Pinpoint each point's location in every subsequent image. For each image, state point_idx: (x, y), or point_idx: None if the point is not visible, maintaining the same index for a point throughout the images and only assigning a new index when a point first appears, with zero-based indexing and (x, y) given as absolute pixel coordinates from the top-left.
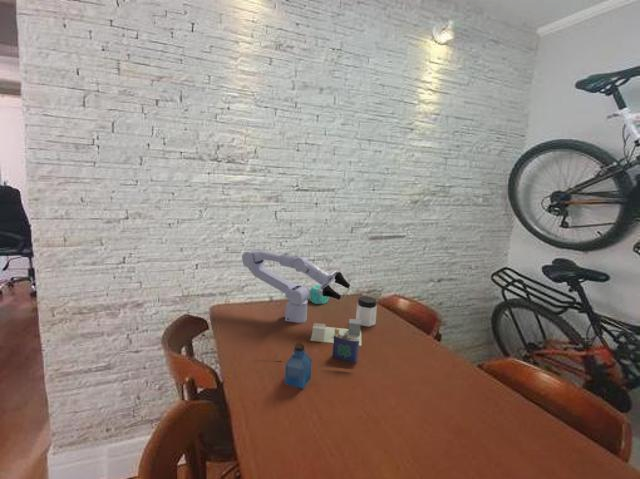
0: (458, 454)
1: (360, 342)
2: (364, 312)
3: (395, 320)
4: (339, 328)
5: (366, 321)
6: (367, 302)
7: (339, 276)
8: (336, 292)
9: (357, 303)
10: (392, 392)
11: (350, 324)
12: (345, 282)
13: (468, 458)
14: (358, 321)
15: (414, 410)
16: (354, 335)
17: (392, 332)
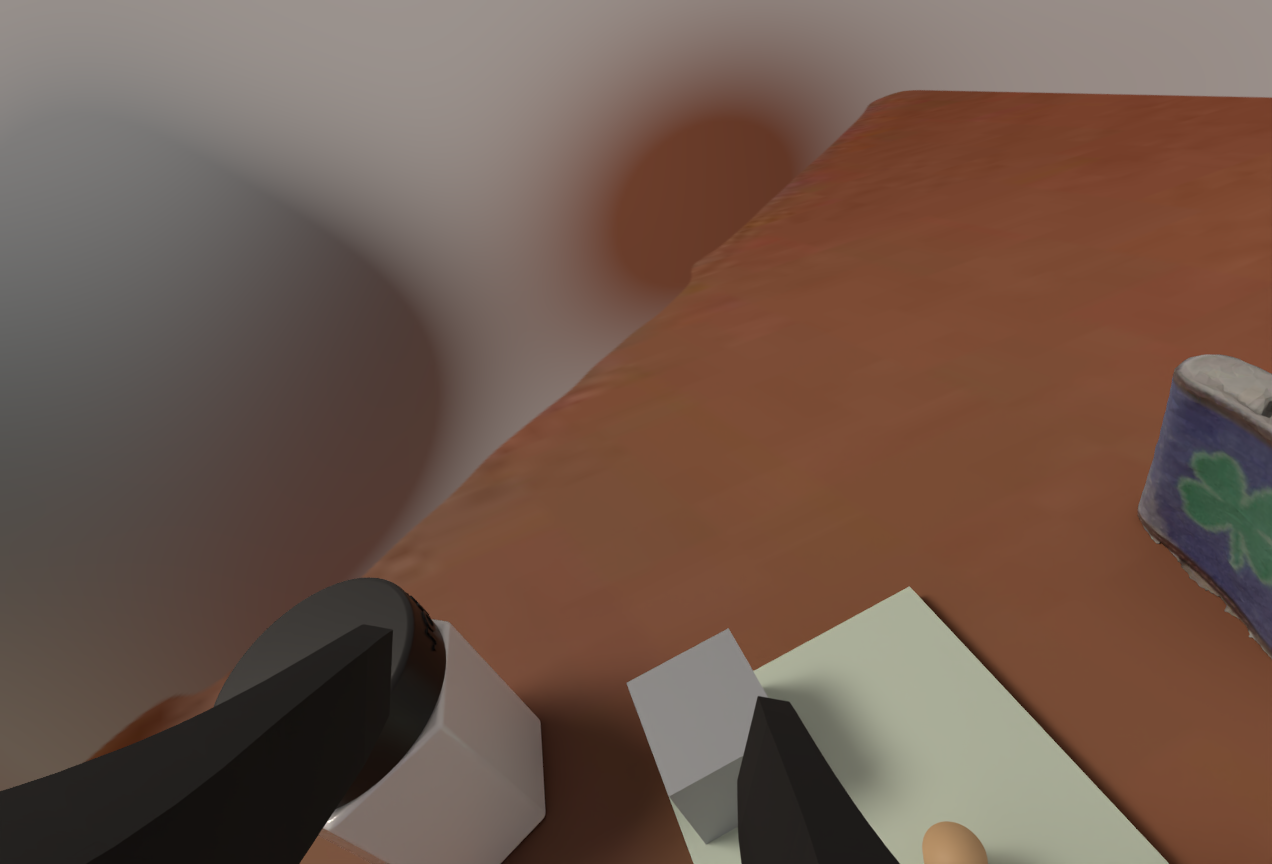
0: (1227, 124)
1: (865, 619)
2: (473, 704)
3: None
4: None
5: (516, 720)
6: (414, 619)
7: (112, 842)
8: (792, 778)
9: (335, 819)
10: (1170, 295)
11: None
12: (321, 692)
13: (1209, 117)
14: (681, 675)
15: (1179, 223)
16: None
17: (530, 571)
